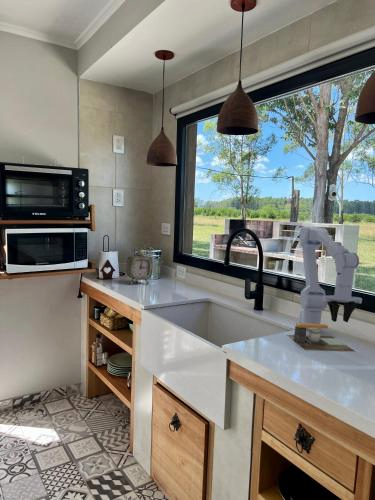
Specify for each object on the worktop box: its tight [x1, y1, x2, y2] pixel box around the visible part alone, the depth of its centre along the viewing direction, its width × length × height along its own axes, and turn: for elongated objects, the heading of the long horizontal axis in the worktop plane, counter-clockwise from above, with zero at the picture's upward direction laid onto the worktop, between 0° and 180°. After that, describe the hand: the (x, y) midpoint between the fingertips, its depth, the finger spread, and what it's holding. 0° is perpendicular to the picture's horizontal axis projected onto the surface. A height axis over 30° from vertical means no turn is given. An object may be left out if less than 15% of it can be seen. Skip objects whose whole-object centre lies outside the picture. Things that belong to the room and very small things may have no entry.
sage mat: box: [320, 337, 348, 346], centre depth 138 cm, size 7×7×1 cm
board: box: [286, 325, 356, 352], centre depth 136 cm, size 16×19×6 cm
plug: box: [307, 328, 321, 342], centre depth 136 cm, size 4×4×5 cm
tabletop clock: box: [125, 243, 154, 286], centre depth 226 cm, size 14×9×25 cm, turn 119°
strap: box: [295, 322, 329, 329], centre depth 135 cm, size 2×12×1 cm, turn 98°
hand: (339, 321), depth 136 cm, fingers open, 4 cm apart
